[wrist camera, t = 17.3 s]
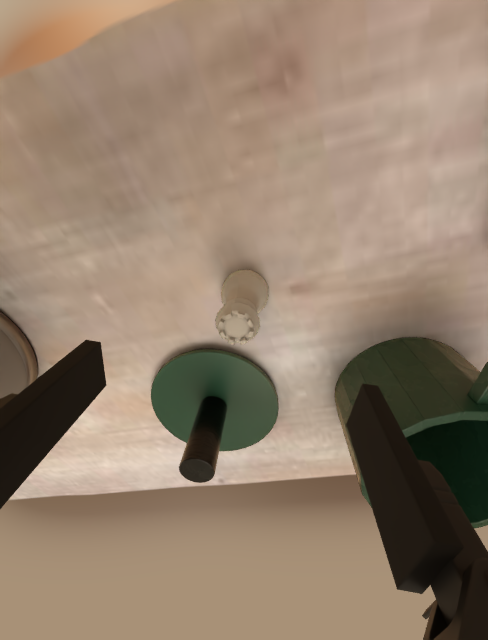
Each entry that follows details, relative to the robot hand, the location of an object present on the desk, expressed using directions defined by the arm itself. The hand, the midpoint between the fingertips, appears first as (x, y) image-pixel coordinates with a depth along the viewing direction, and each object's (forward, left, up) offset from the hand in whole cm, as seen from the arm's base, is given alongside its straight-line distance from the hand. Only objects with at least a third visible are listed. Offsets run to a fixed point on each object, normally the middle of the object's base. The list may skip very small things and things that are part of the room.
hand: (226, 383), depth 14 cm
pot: (+18, -9, -14) cm, 24 cm away
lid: (-2, -14, -13) cm, 19 cm away
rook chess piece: (0, 0, -14) cm, 14 cm away
